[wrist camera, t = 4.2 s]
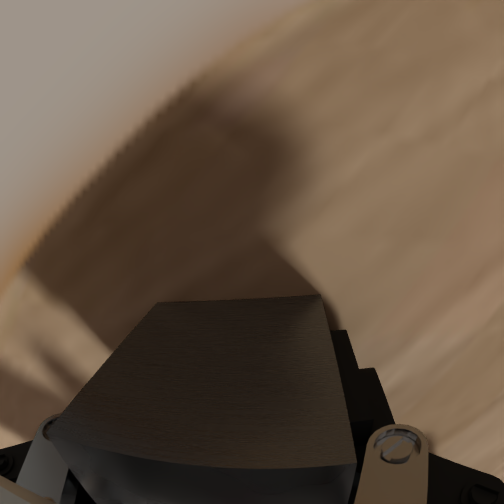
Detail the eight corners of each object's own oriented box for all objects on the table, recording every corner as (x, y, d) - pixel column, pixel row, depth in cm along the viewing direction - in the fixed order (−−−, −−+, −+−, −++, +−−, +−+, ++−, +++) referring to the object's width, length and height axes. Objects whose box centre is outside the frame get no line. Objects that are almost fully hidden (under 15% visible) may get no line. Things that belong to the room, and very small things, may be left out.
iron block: (320, 294, 9) (357, 462, 3) (320, 418, 10) (329, 564, 5) (157, 302, 10) (45, 432, 4) (187, 418, 11) (138, 547, 5)
